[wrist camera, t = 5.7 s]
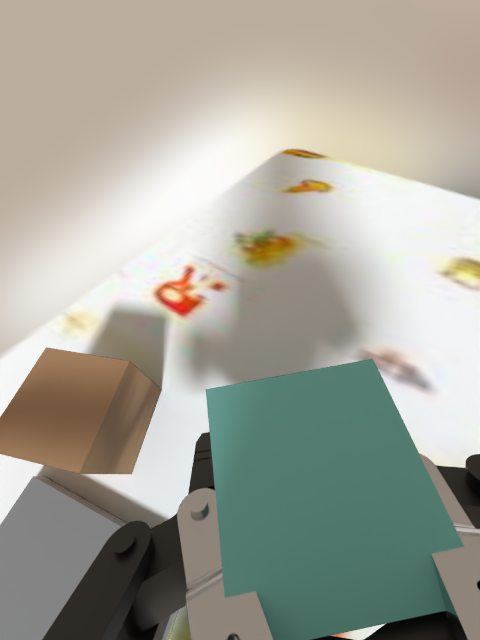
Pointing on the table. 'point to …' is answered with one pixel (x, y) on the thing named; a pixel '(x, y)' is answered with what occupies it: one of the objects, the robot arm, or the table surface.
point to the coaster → (48, 556)
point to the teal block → (324, 502)
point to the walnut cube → (80, 414)
